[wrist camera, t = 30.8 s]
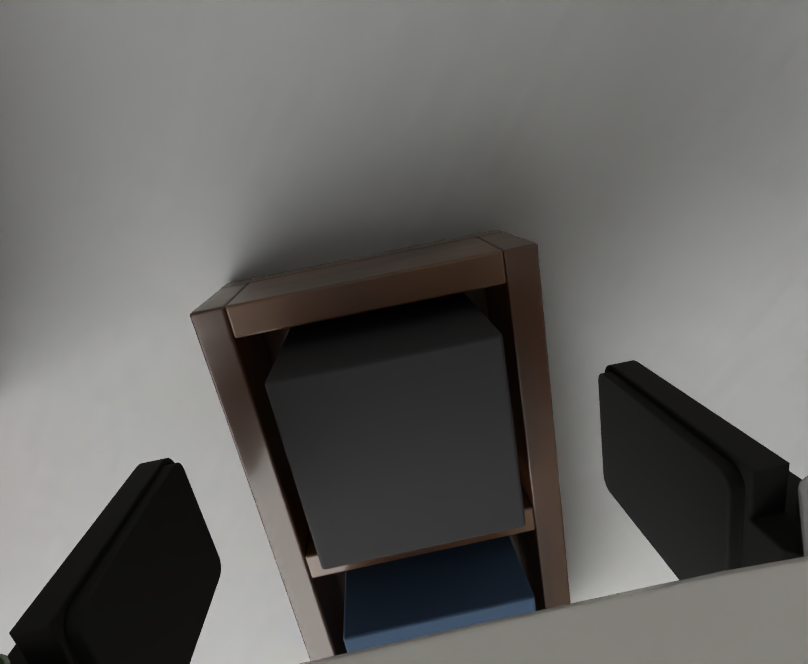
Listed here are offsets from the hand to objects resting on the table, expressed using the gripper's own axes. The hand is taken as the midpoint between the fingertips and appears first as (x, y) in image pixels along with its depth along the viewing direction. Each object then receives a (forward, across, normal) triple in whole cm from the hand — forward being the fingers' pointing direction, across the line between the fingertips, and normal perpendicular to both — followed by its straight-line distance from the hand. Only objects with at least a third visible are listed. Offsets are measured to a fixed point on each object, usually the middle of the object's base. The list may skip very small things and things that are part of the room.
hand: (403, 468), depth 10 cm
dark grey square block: (+4, 0, 0) cm, 4 cm away
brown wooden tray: (+5, 0, +4) cm, 6 cm away
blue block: (+4, 0, +7) cm, 8 cm away
